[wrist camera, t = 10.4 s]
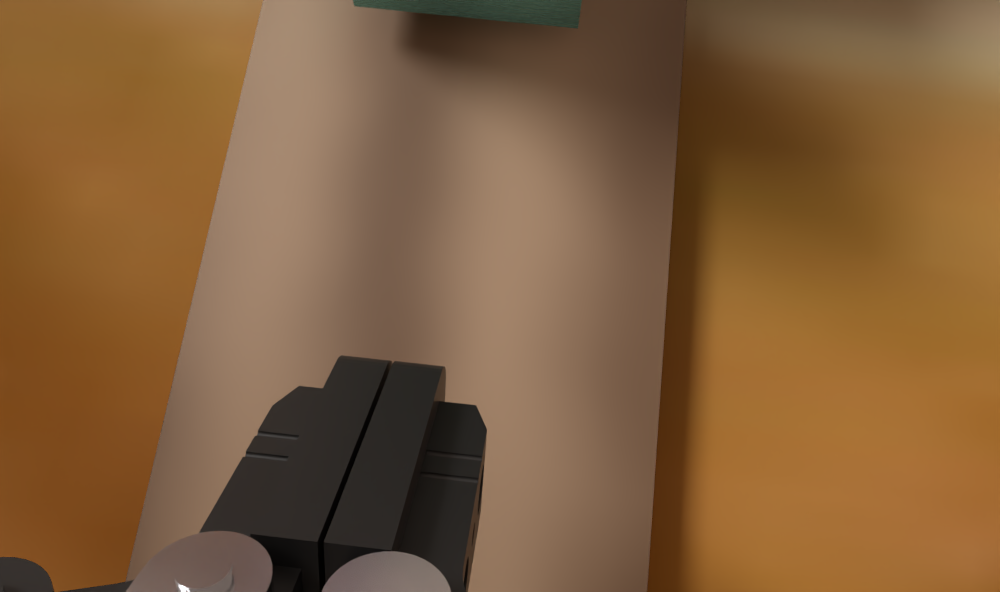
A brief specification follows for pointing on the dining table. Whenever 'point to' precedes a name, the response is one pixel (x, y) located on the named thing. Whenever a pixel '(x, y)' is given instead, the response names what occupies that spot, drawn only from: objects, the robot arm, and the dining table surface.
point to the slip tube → (490, 9)
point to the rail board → (448, 263)
